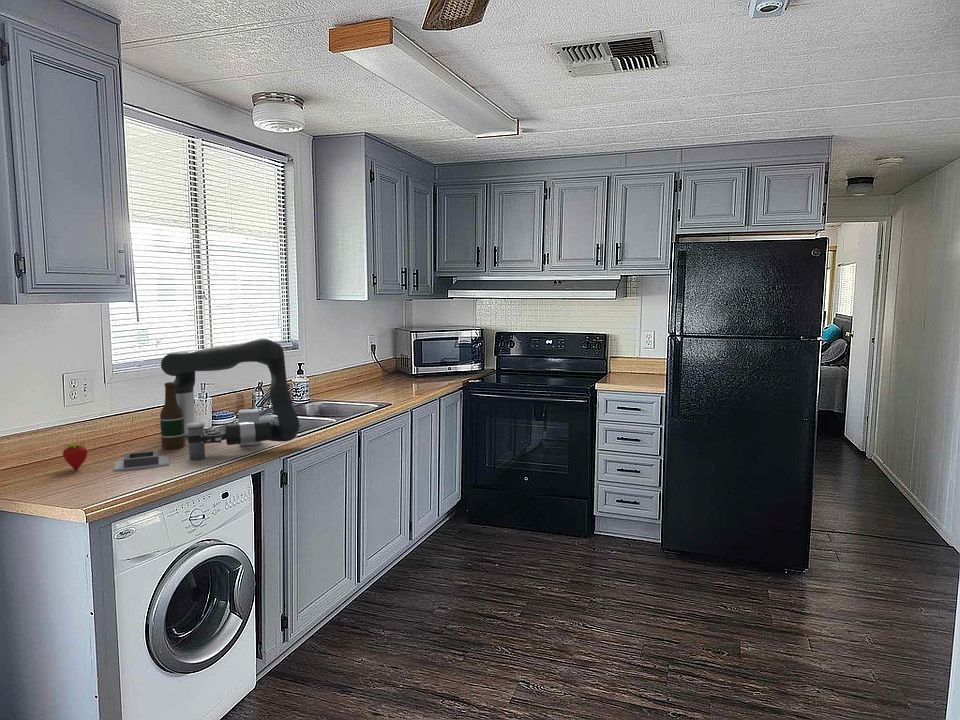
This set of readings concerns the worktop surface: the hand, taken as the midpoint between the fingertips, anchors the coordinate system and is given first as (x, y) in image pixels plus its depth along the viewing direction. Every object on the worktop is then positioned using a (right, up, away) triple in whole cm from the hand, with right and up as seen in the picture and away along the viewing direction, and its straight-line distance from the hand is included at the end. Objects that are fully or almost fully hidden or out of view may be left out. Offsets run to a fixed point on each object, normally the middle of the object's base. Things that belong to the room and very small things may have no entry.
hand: (187, 438), depth 230 cm
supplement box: (+13, -5, +24) cm, 28 cm away
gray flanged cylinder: (+2, -7, +2) cm, 8 cm away
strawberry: (-31, -9, -11) cm, 34 cm away
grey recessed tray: (-13, -8, -5) cm, 16 cm away
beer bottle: (-14, -6, +19) cm, 24 cm away
